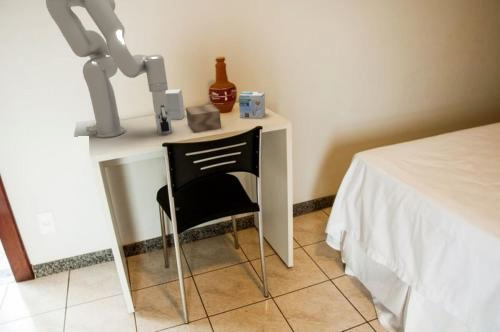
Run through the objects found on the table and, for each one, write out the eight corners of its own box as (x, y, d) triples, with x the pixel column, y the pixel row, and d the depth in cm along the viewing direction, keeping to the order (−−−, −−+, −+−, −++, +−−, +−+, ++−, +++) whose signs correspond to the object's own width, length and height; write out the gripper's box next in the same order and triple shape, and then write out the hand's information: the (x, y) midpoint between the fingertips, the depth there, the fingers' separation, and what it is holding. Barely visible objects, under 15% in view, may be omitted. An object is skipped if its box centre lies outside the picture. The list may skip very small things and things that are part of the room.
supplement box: (185, 114, 191) (182, 88, 186) (181, 119, 184) (178, 92, 179) (170, 115, 192) (166, 89, 187) (166, 120, 185) (162, 93, 180)
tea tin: (159, 135, 166) (156, 119, 163) (157, 131, 171) (154, 115, 168) (172, 132, 168) (170, 117, 165) (170, 129, 172) (168, 113, 170)
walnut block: (193, 133, 166) (191, 114, 163) (187, 125, 177) (185, 107, 173) (221, 128, 170) (219, 110, 166) (214, 121, 180) (212, 103, 177)
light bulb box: (239, 117, 182) (238, 94, 178) (244, 113, 188) (242, 91, 183) (262, 118, 179) (261, 95, 175) (265, 114, 185) (265, 91, 180)
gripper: (146, 83, 168) (153, 124, 175) (151, 92, 153) (158, 136, 160) (164, 81, 170) (170, 122, 177) (170, 89, 155) (176, 133, 162)
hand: (164, 128), depth 169 cm, fingers closed on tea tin, 5 cm apart
